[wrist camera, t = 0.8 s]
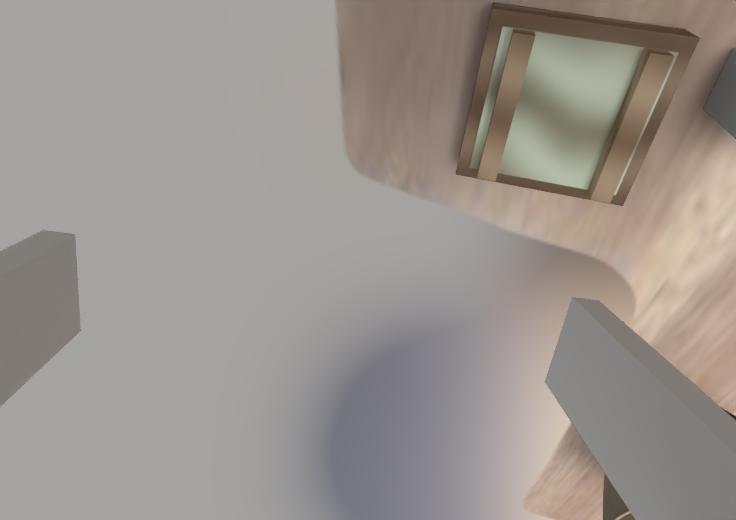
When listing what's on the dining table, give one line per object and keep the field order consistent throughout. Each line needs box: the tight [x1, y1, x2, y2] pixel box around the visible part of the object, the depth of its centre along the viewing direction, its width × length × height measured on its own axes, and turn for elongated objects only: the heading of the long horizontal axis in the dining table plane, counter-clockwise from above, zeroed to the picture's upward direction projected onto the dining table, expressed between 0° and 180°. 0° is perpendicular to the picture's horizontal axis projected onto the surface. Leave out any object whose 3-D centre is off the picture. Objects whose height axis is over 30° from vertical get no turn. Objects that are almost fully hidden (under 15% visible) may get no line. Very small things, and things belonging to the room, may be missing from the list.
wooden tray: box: [456, 2, 700, 206], centre depth 38 cm, size 13×14×6 cm
